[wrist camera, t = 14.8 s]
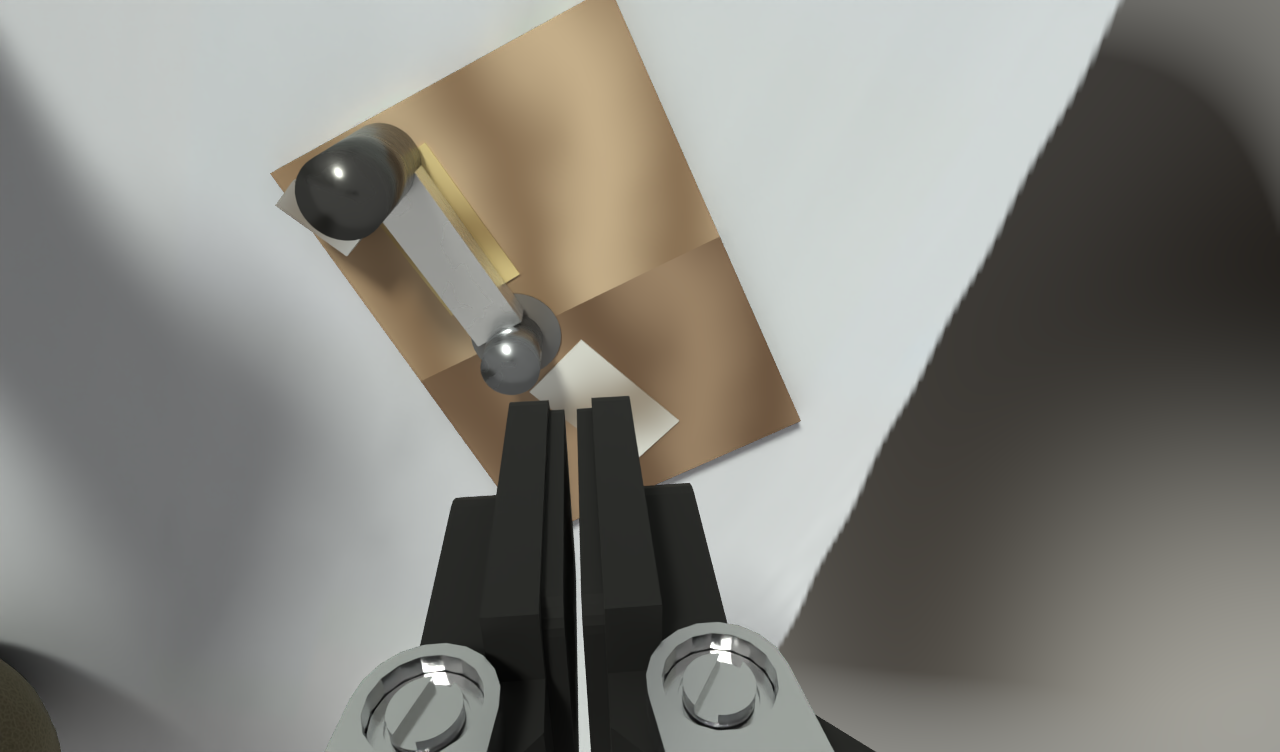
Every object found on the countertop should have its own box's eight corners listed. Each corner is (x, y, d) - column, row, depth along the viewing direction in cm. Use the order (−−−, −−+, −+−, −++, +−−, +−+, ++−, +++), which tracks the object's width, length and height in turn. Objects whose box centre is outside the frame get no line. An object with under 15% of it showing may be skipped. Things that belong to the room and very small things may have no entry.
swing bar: (557, 344, 33) (553, 412, 27) (504, 374, 33) (491, 445, 28) (390, 108, 28) (346, 135, 22) (332, 147, 28) (275, 182, 23)
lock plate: (535, 528, 39) (532, 569, 36) (277, 169, 29) (246, 187, 27) (796, 412, 37) (815, 447, 34) (608, -13, 27) (613, -14, 25)
